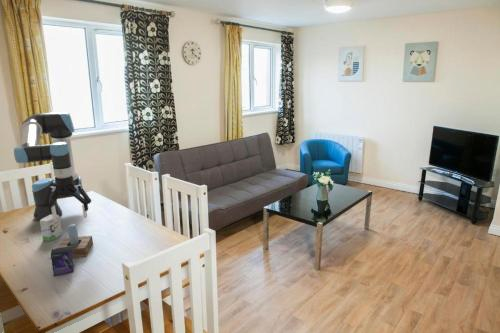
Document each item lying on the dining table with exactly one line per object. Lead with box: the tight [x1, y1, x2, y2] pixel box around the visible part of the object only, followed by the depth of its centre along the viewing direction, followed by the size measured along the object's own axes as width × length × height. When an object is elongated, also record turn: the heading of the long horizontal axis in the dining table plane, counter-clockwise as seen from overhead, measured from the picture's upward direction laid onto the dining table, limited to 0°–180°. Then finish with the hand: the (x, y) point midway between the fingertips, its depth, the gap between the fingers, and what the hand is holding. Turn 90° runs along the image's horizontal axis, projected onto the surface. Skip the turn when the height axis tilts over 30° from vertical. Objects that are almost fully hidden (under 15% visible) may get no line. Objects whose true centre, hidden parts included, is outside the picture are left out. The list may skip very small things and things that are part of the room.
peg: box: [66, 223, 79, 246], centre depth 168 cm, size 4×4×14 cm
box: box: [50, 246, 75, 277], centre depth 152 cm, size 8×6×11 cm
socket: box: [57, 235, 94, 260], centre depth 169 cm, size 13×13×5 cm
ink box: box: [39, 214, 63, 242], centre depth 183 cm, size 9×5×12 cm, turn 168°
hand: (70, 218), depth 165 cm, fingers open, 13 cm apart
